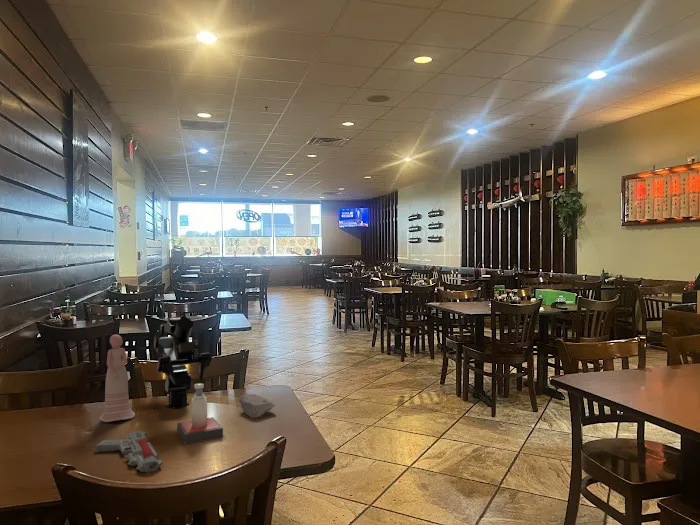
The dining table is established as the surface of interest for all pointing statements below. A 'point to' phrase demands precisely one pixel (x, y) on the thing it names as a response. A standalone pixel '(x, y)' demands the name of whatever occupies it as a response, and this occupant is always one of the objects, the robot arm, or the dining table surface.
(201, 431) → the stand
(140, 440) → the toy gun
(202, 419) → the white bottle
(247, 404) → the stone
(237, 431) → the dining table surface
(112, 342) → the figurine
